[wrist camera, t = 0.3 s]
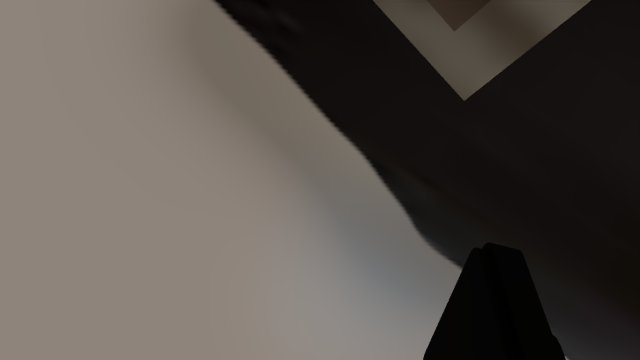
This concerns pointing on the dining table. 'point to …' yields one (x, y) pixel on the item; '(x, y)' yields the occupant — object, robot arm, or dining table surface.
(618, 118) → the dining table surface
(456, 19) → the walnut block
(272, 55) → the dining table surface
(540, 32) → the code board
